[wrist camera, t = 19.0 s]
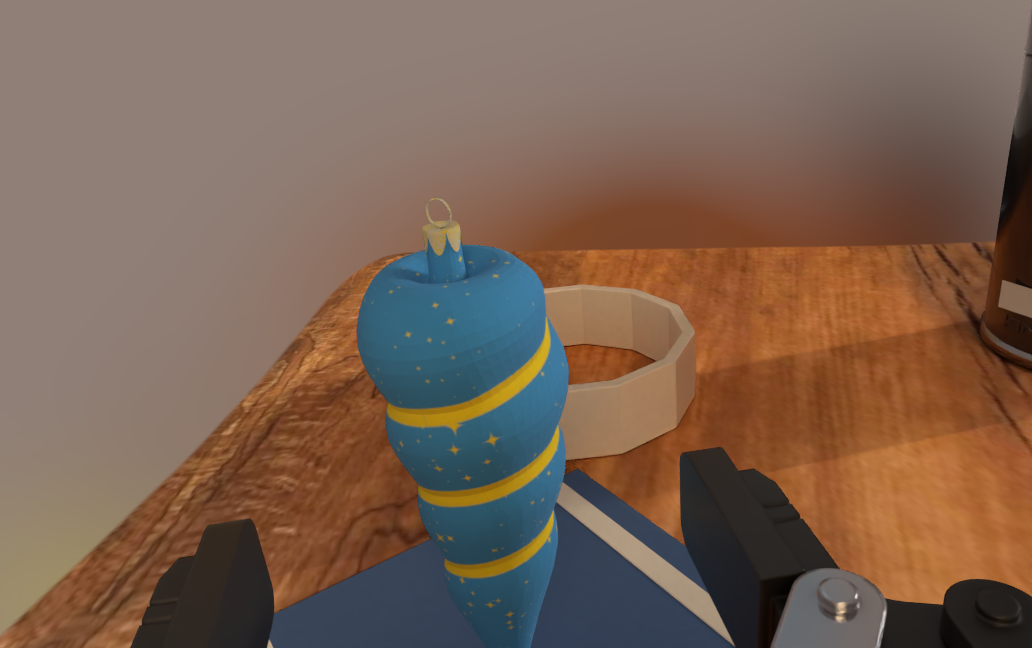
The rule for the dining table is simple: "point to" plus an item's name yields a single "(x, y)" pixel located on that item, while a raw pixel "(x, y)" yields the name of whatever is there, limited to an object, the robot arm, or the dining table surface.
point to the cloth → (567, 602)
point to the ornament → (474, 418)
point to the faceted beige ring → (637, 395)
